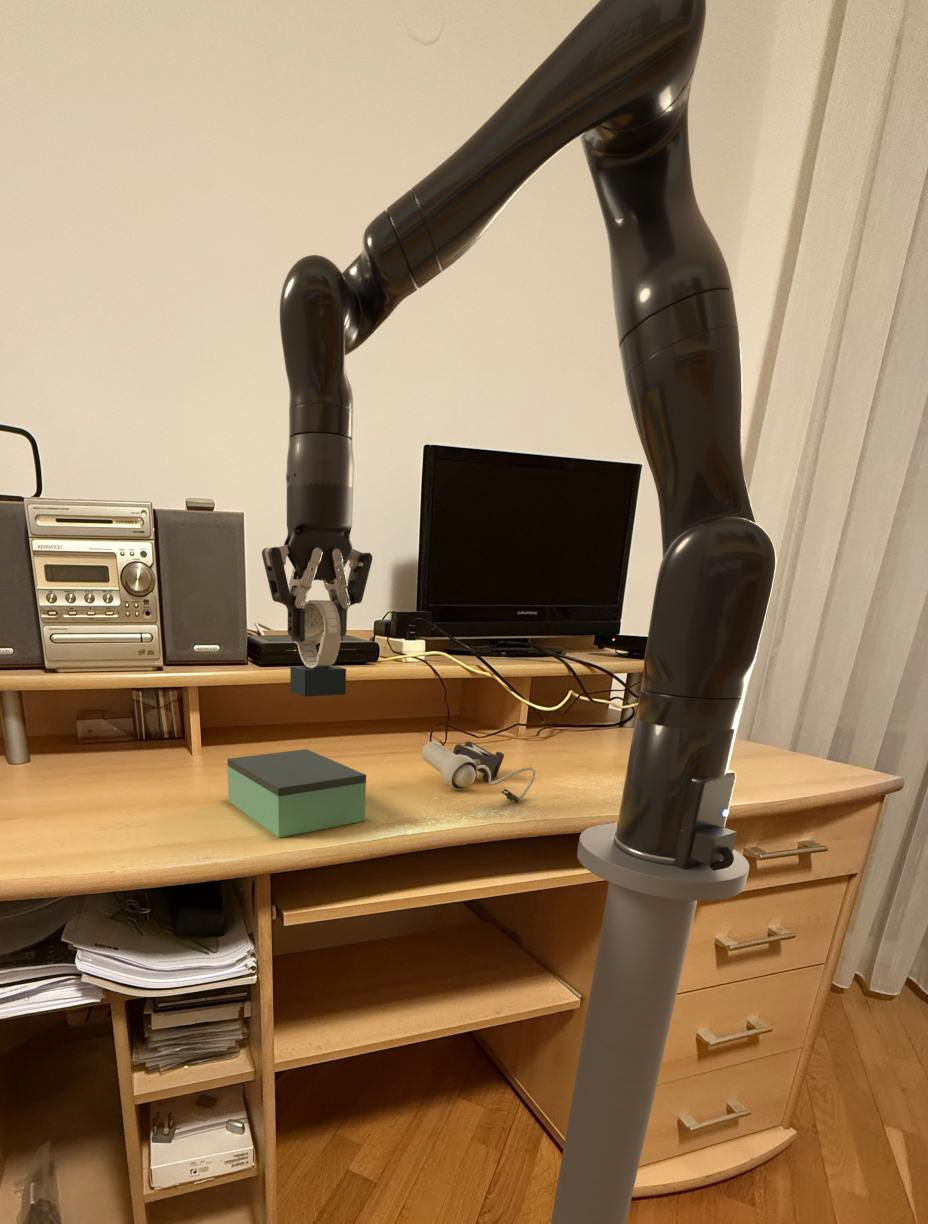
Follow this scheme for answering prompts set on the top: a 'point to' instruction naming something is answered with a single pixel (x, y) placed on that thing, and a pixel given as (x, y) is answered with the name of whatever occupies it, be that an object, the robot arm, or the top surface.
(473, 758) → the clip-on lamp
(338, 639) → the watch
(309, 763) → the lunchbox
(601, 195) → the robot arm
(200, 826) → the top surface
